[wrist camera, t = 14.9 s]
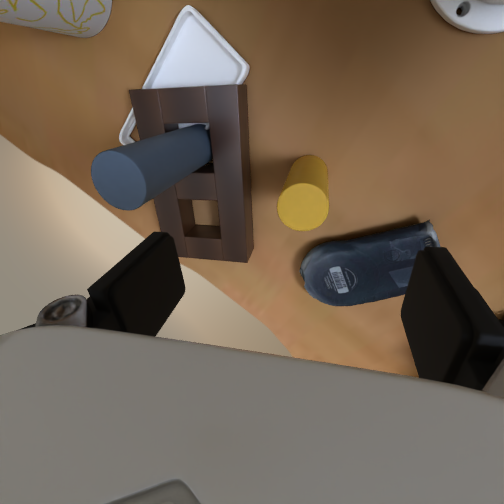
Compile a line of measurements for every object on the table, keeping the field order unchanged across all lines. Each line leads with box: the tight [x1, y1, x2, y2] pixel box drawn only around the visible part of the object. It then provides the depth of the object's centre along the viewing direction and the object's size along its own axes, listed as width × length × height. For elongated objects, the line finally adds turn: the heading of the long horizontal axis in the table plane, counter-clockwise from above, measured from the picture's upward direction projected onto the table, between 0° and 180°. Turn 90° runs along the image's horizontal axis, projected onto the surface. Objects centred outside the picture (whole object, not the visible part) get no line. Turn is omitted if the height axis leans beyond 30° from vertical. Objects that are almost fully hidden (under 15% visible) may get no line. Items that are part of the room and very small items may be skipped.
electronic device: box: [299, 220, 440, 306], centre depth 32 cm, size 9×6×15 cm
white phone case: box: [119, 5, 249, 145], centre depth 29 cm, size 7×1×15 cm
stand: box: [129, 84, 254, 263], centre depth 31 cm, size 11×18×4 cm, turn 3°
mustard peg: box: [277, 155, 329, 231], centre depth 26 cm, size 4×4×10 cm
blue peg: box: [91, 124, 213, 210], centre depth 25 cm, size 4×4×15 cm
